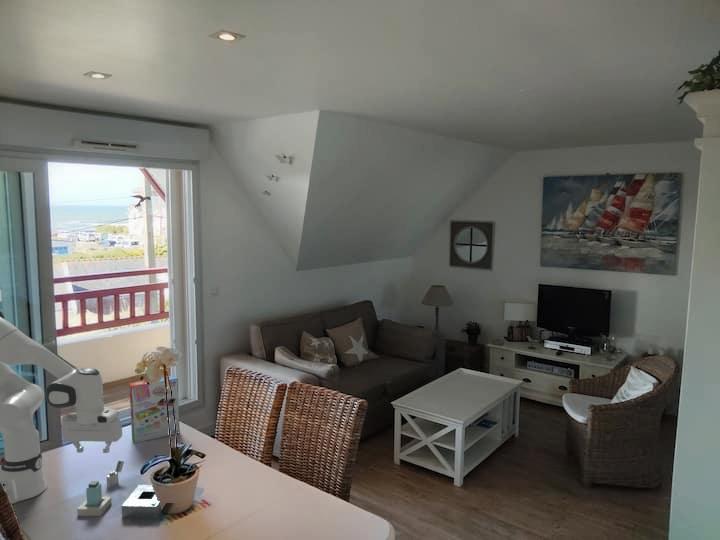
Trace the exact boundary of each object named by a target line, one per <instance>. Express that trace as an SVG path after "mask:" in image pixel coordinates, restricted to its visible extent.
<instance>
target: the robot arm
mask: <svg viewBox="0 0 720 540" xmlns="http://www.w3.org/2000/svg"><path fill="white" fill-rule="evenodd" d="M9 365H10V366H18V365H34V366H39V367H42V368H43V369H44V370H46V371H47V372H48V373H50V374H51V375H52V376H54V377H55V378H57V379H56V380H55V381H53V382H51V383H49V384H48V385H47V387H46V388H45V390H44V391H43V389H42V388H41V386H39V385H38V384H35V383H31V382H29V381H28V380H27V379H25V378H23V377H22V376H21V375H19V374H18V373H17V372H16V371H15V370H13V369H12V368H11V367H10V366H9ZM103 395H104V385H103V379H102V374H101V373H100V371H99V370H98V369H96V368H94V367H81V368H80V367H77V366H75V365H73V364H71V362H69V361H67V360H66V359H65V358H63V357H62V356H60V355H59V354H58V353H56V352H55V351H53V350H52V349H50V348H48V347H47V346H45V345H43V344H42V343H39V342H37V341H36V340H34V339H33V338H31V337H29V336H27V335H26V334H25V333H23V332H22V331H21V330H20V329H19V328H18V327H16V326H15V325H14V324H12V323H11V322H10V321H8V320H7V319H5V315H4V313H3V312H2V311H1V310H0V432H1V436H2V439H3V449H4V456H3V457H2V458H1V459H0V464H1V465H0V483H2V484H3V486H4V488H5V490H6V492H7V494H8V496H9V498H10V501H11V503H12V504H16V503H18V502H21V501H25V500H28V499H29V500H30V499H31V498H34V497H37V496H39V495H40V494H42V493H44V491H45V490H46V489H47V488H48V483H47V482H46V479H45V476H44V472H43V455H42V450H41V447H40V446H41V445H40V444H41V443H40V432H39V431H38V429H36V426H35V424H34V420H33V419H34V418H33V417H34V413H35V412H36V411H37V410H38V409H39V408H40V406H41V405H42V402H43V400H44V399H45V401H46V402H47V404H48V405H49V406H50V407H52V408H55V409H64V408H69V407H73V406H74V407H75V413H66V414H65V415H63V416H62V418H61V423H62V425H61V438H62V440H63V441H64V442H72V445H73V446H74V448H76V453H78V454H79V453H83V452H84V449H85V448H84V446H83V445H81V443H80V442H104V443H105V445H106V446H104V447H103V448H102V454H109V453H110V447H111V445H112V443H116V442H118V441H119V440H120V439H121V438H122V436H123V427H122V426H123V425H122V421H121V419H120V418H118V417H119V416H120V411H119V410H117V409H113V408H111V407H108V406H106V405H105V402H104V399H103ZM12 504H11V505H12Z"/></svg>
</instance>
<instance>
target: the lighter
mask: <svg viewBox="0 0 720 540" xmlns="http://www.w3.org/2000/svg"><path fill="white" fill-rule="evenodd" d="M124 463H125V461H124V460H118V461H117V463H116V468H115V470H112V471H110V472H109V474H108V475H106V488H108V489H110V488H113V487H114V486H116V485H118V484H119V473H122V470H123V466H124Z"/></svg>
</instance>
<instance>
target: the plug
mask: <svg viewBox="0 0 720 540" xmlns="http://www.w3.org/2000/svg"><path fill="white" fill-rule="evenodd" d="M85 492H86V499H87V507H98V506H99V505H100V504H101V503H102V497H103V496H102V494H103V491H102V483H101V482H100V481H99V480H91V481H90V482H89V483H88V486H86V488H85Z"/></svg>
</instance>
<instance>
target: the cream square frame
mask: <svg viewBox="0 0 720 540" xmlns="http://www.w3.org/2000/svg"><path fill="white" fill-rule="evenodd" d="M110 505H112V497H111V496H102V503H101V504H100V505H99V506H98V507H87V498H86V499H85V500H84V501H83V502H82V503H81V504H80V505H79V506H78V507H77V511H76V512H77V515H76V516H77V517H79V516H80V517H101V516H102V515H103V514H104V513H105V512H106V510H108V508H109V506H110Z"/></svg>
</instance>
